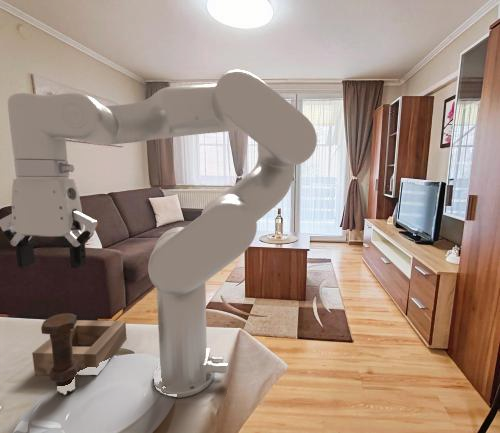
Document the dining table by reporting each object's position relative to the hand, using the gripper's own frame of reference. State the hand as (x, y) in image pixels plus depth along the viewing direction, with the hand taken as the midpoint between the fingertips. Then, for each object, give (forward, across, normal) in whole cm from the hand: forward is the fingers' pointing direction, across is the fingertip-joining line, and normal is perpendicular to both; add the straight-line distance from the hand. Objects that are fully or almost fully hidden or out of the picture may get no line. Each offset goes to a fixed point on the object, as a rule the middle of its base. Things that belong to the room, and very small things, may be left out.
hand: (52, 265), depth 53 cm
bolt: (+26, 0, 0) cm, 26 cm away
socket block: (+26, +3, -11) cm, 28 cm away
